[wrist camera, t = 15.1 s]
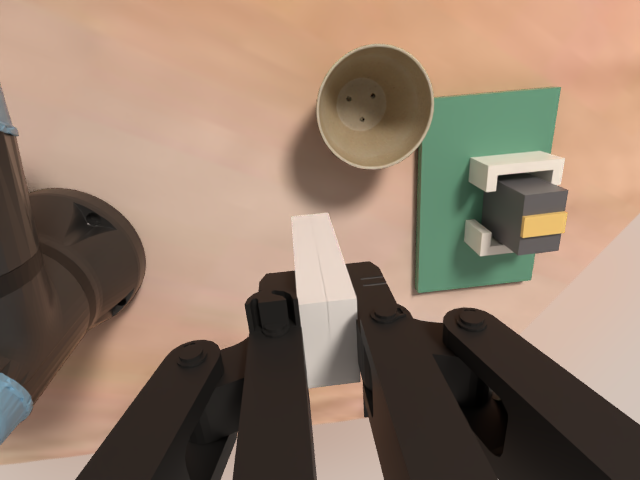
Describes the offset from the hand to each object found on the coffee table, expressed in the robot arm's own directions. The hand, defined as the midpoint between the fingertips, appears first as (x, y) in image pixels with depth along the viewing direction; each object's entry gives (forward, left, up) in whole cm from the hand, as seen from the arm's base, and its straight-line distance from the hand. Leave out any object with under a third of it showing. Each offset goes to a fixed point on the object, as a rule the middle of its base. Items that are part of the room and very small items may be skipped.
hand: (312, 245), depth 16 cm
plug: (+22, -8, -25) cm, 34 cm away
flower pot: (+7, +3, -27) cm, 28 cm away
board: (+20, -8, -26) cm, 34 cm away
